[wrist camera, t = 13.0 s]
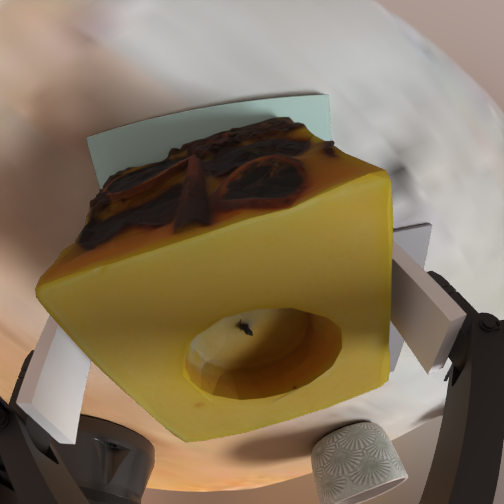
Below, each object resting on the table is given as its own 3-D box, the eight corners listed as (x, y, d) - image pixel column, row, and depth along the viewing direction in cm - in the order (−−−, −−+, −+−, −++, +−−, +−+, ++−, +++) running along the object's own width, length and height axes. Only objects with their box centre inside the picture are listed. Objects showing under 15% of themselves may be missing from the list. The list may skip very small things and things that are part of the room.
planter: (291, 441, 36) (309, 510, 27) (376, 404, 34) (406, 472, 25) (318, 458, 42) (334, 512, 33) (386, 428, 41) (409, 481, 31)
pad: (151, 317, 21) (150, 322, 21) (89, 136, 14) (86, 138, 14) (328, 284, 22) (331, 288, 21) (324, 94, 15) (328, 94, 15)
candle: (107, 174, 15) (19, 286, 7) (287, 109, 15) (396, 153, 6) (178, 311, 20) (177, 447, 12) (322, 264, 20) (391, 386, 12)
